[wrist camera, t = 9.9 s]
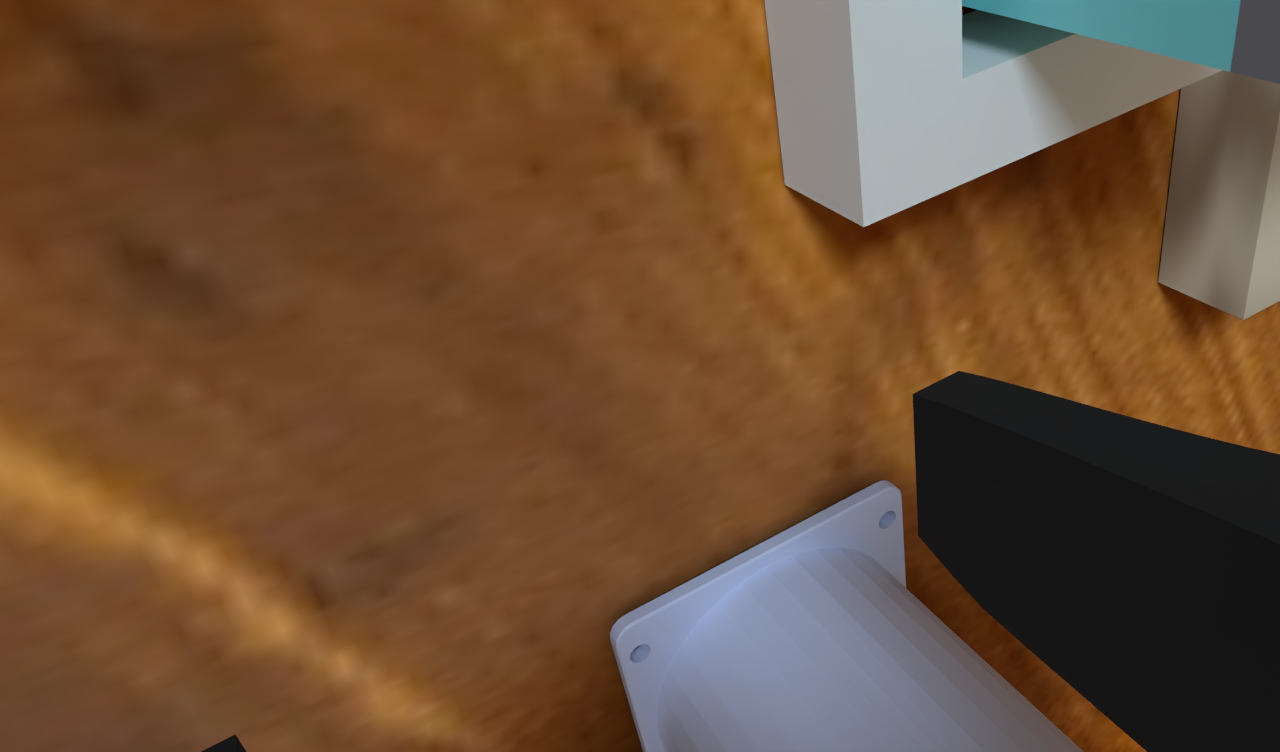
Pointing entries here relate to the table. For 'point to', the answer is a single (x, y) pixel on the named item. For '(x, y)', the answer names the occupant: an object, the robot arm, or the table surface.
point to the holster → (1225, 195)
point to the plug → (1167, 28)
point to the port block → (936, 95)
